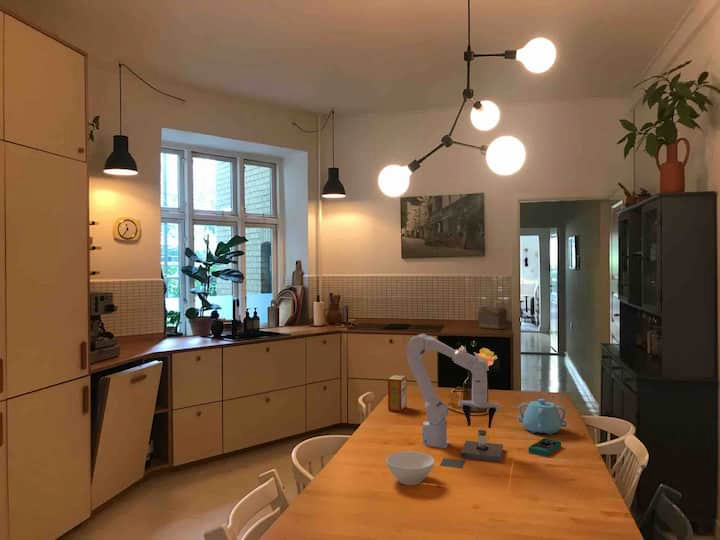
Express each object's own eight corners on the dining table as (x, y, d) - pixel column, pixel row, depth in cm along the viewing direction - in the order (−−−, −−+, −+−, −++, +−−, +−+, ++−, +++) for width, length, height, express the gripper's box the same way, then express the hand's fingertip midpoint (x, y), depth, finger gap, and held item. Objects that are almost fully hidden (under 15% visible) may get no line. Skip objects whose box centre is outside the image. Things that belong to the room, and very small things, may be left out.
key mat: (439, 467, 190) (439, 465, 190) (443, 459, 198) (443, 457, 198) (462, 469, 187) (462, 468, 187) (465, 461, 195) (465, 460, 195)
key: (477, 455, 201) (477, 431, 201) (479, 453, 204) (478, 429, 204) (485, 456, 200) (485, 432, 200) (487, 454, 203) (487, 430, 203)
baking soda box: (400, 412, 262) (400, 379, 262) (388, 410, 264) (388, 378, 264) (406, 407, 271) (406, 375, 270) (394, 406, 273) (393, 374, 273)
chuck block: (460, 459, 198) (460, 452, 198) (466, 447, 211) (466, 440, 211) (500, 463, 193) (500, 456, 193) (503, 450, 206) (503, 444, 206)
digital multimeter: (562, 448, 211) (562, 440, 211) (546, 458, 200) (546, 450, 200) (543, 443, 216) (543, 436, 216) (527, 453, 205) (527, 445, 205)
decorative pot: (536, 438, 221) (536, 405, 221) (514, 427, 237) (514, 396, 236) (570, 435, 226) (570, 402, 225) (546, 424, 241) (547, 393, 241)
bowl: (438, 474, 183) (438, 454, 183) (429, 493, 168) (428, 471, 168) (393, 469, 188) (393, 449, 188) (379, 487, 173) (379, 465, 173)
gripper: (458, 391, 205) (458, 427, 205) (497, 394, 200) (497, 431, 200) (461, 387, 212) (461, 422, 212) (499, 390, 207) (499, 426, 207)
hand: (479, 426), depth 206 cm, fingers open, 7 cm apart
